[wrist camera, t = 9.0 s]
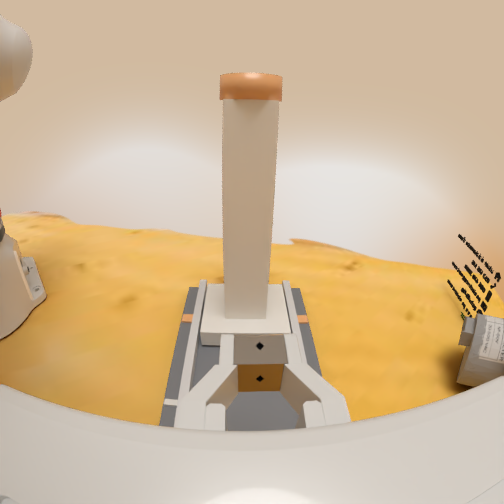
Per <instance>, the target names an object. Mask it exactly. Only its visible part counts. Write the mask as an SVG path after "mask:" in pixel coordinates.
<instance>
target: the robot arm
mask: <svg viewBox="0 0 504 504" xmlns="http://www.w3.org/2000/svg"><path fill="white" fill-rule="evenodd" d="M31 61H32V44H31V41H30V38H29V36H28V34H27V33H26V32H25V30H24V29H23V28H21V27H20V26H17V25H15V24H13V23H11V22H9V21H7V20H6V19H5V18H4V17H2V16H1V15H0V102H1V101H2V100H4V99H6V98H8V97H9V96H11V95H13V94H15V93H17V91H18V90H19V89H20V87H21V86H22V84H23V83H24V81H25V79H26V77H27V75H28V72H29V70H30V66H31ZM46 296H47V294H46V292H45V289H44V286H43V283H42V281H41V278H40V275H39V272H38V269H37V266H36V263H35V260H34V258H33V257H23V258H22V255H21V252H20V249H19V246H18V243H17V241H16V240H15V239H13V238H12V237H10V236H9V235H7V234H6V233H5V228H4V226H3V221H2V219H1V210H0V339H1V338H3V337H5V336H7V335H8V334H10V333H11V332H13V331H14V330H15V329H16V328H17V327H18V326H20V325H21V323H22V322H23V321H24V320H25V319H26V318H27V316H28V315H29V313H30V312H31V311H32V310H33V308H34V307H36V306H37V305H38V304H40V303H41V302H42V301H43V300H44V299H45V298H46ZM257 391H280V393H281V394H282V395H283V397H284V398H285V399H286V400H287V402H288V403H289V404H290V405H291V406H292V408H293V409H294V410H295V411H296V412H297V414H298V415H299V418H298V421H297V424H296V427H295V429H285V430H266V431H228V429H227V419H226V410H227V408H228V407H229V406H230V404H231V403H232V401H233V400H234V398H235V397H236V396H237V394H238V392H257ZM0 504H504V376H500V377H498V378H495V379H493V380H491V381H489V382H486V383H484V384H482V385H479V386H477V387H474V388H472V389H469V390H467V391H464V392H462V393H459V394H456V395H453V396H451V397H448V398H445V399H442V400H439V401H436V402H432V403H429V404H426V405H422V406H419V407H416V408H412V409H408V410H404V411H400V412H396V413H392V414H388V415H384V416H379V417H374V418H369V419H364V420H359V421H353V422H351V419H350V415H349V412H348V408H347V404H346V401H345V397H344V396H343V395H342V394H341V393H340V392H338V391H337V390H336V389H335V388H334V387H333V386H331V385H330V384H329V383H328V382H327V381H326V380H325V379H323V378H322V377H321V376H320V375H319V374H318V373H317V372H316V371H314V370H313V369H312V368H311V367H310V366H309V365H308V364H307V363H302V358H301V353H300V349H299V344H298V339H297V335H296V334H295V333H289V334H259V335H250V334H221V340H220V354H219V365H214V366H213V367H212V369H211V370H210V371H209V372H208V373H207V374H206V375H205V376H204V377H203V378H202V379H201V380H200V381H199V382H198V383H197V384H196V385H195V386H194V387H193V388H192V389H191V391H190V392H189V393H188V394H187V395H186V396H185V397H184V398H183V399H182V400H181V402H180V408H179V415H178V421H177V428H174V427H165V426H156V425H149V424H142V423H136V422H130V421H124V420H119V419H114V418H109V417H105V416H100V415H96V414H91V413H87V412H83V411H80V410H76V409H72V408H69V407H65V406H62V405H59V404H55V403H52V402H49V401H46V400H43V399H40V398H37V397H34V396H32V395H29V394H26V393H23V392H21V391H18V390H16V389H13V388H11V387H9V386H6V385H3V384H0Z"/></svg>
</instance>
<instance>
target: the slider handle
mask: <svg viewBox="0 0 504 504" xmlns="http://www.w3.org/2000/svg"><path fill="white" fill-rule="evenodd" d="M220 100H223V139H222V140H223V141H222V144H223V145H222V188H223V189H222V194H223V195H222V199H223V263H224V284H208V287H207V292H206V298H205V304H204V310H203V317H202V323H201V329H200V336H201V344H202V345H220V340H221V334H250V335H259V334H289V333H291V330H290V324H289V319H288V314H287V308H286V303H285V298H284V292H283V287H282V284H268V282H269V268H270V254H271V239H272V224H273V207H274V192H275V175H276V156H277V137H278V115H279V101H281V100H282V77H281V76H278V75H272V74H264V73H230V74H223V75H220Z"/></svg>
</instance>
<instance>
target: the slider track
mask: <svg viewBox="0 0 504 504" xmlns="http://www.w3.org/2000/svg"><path fill="white" fill-rule="evenodd" d="M282 287H283V292H284V298H285V303H286V308H287V314H288V319H289V324H290V330H291V333H295V334H296V335H297V339H298V344H299V349H300V353H301V358H302V363H307V364H308V365H309V366H310V367H311V368H312V369H313V370H314V371H316V372H317V373H318V374H319V375H320V376H321V377H322V374H321V370H320V366H319V362H318V358H317V354H316V350H315V346H314V342H313V338H312V334H311V330H310V326H309V322H308V318H307V314H306V310H305V307H304V303H303V299H302V295H301V292H300V288H291V287H290V283H289V281H283V282H282ZM206 292H207V280H200V284H199V287H189V291H188V295H187V299H186V303H185V307H184V311H183V316H182V320H181V324H180V328H179V332H178V337H177V341H176V346H175V350H174V355H173V359H172V364H171V368H170V373H169V378H168V383H167V388H166V393H165V398H164V403H163V408H162V413H161V419H160V424H159V426H165V427H174V428H177V421H178V415H179V408H180V402H181V400H182V399H183V398H184V397H185V396H186V395H187V394H188V393H189V392H190V391H191V389H192V388H193V387H194V386H195V385H196V384H197V383H198V382H199V381H200V380H201V379H202V378H203V377H204V376H205V375H206V374H207V373H208V372H209V371H210V370H211V369H212V367H213V366H214V365H219V354H220V345H202V344H201V336H200V329H201V323H202V317H203V310H204V304H205V298H206ZM298 418H299V415H298V414H297V412H296V411H295V410H294V409H293V408H292V406H291V405H290V404H289V403H288V402H287V400H286V399H285V398H284V397H283V395H282V394H281V393H280V391H257V392H238V394H237V396H236V397H235V398H234V400H233V401H232V403H231V404H230V406H229V407H228V408H227V410H226V419H227V429H228V431H266V430H285V429H295V427H296V424H297V421H298Z"/></svg>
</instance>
